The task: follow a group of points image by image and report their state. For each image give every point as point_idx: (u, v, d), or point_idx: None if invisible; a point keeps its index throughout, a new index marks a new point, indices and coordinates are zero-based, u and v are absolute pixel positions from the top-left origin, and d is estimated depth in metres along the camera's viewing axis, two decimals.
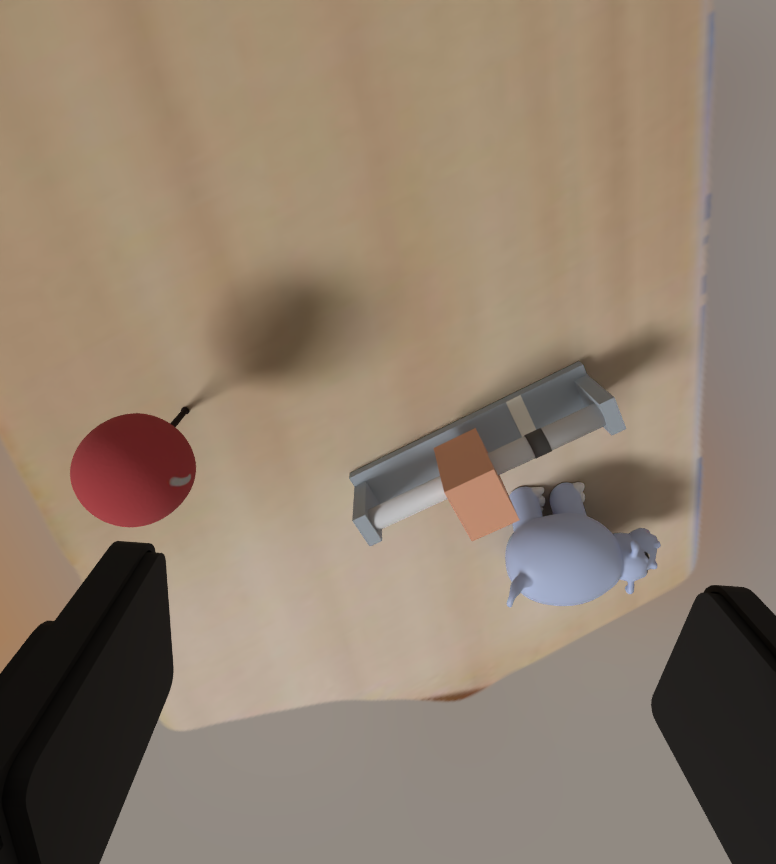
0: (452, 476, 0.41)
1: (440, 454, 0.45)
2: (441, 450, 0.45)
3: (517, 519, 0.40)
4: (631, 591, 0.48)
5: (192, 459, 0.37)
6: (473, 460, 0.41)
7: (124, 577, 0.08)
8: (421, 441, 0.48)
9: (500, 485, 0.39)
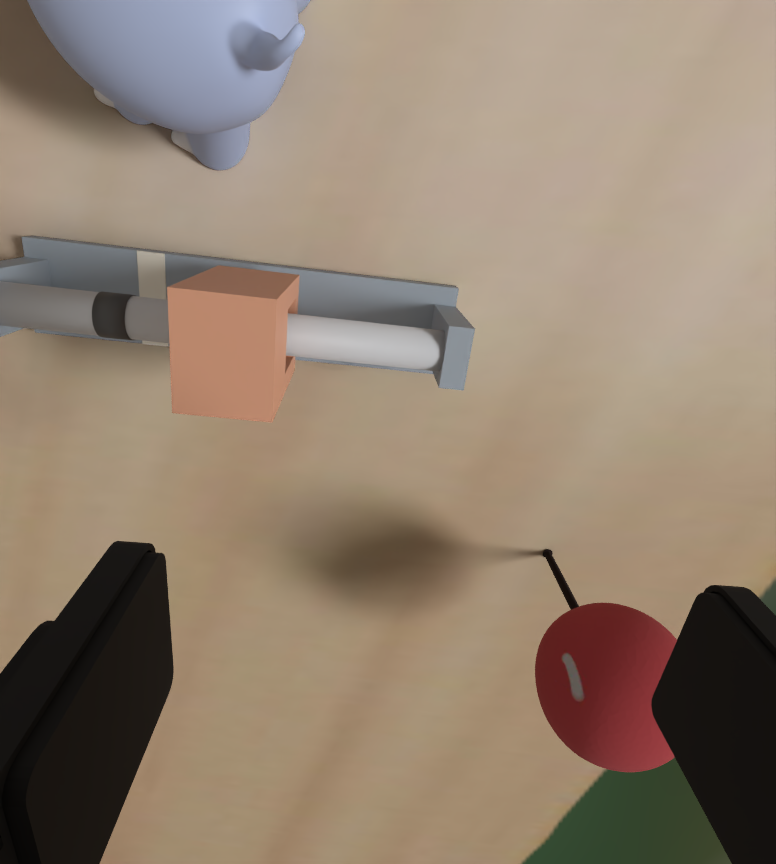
0: None
1: None
2: None
3: (170, 291, 0.20)
4: None
5: (548, 650, 0.27)
6: None
7: (124, 577, 0.08)
8: None
9: (173, 377, 0.21)
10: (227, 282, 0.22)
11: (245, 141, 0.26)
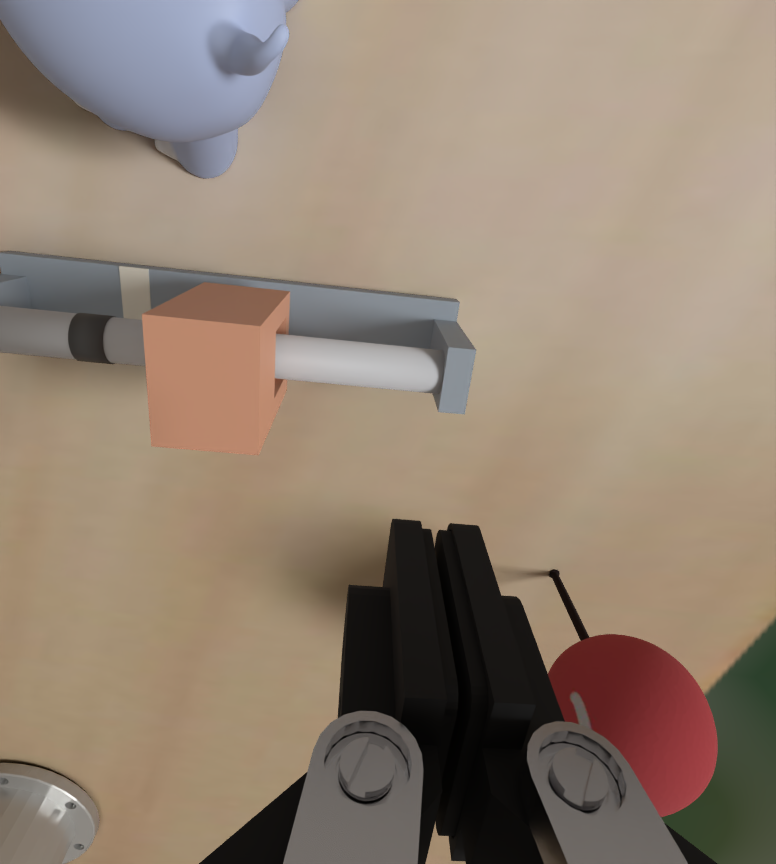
0: None
1: None
2: None
3: (145, 318, 0.18)
4: None
5: (555, 686, 0.26)
6: None
7: (421, 547, 0.09)
8: None
9: (151, 409, 0.20)
10: (209, 305, 0.21)
11: (233, 148, 0.24)
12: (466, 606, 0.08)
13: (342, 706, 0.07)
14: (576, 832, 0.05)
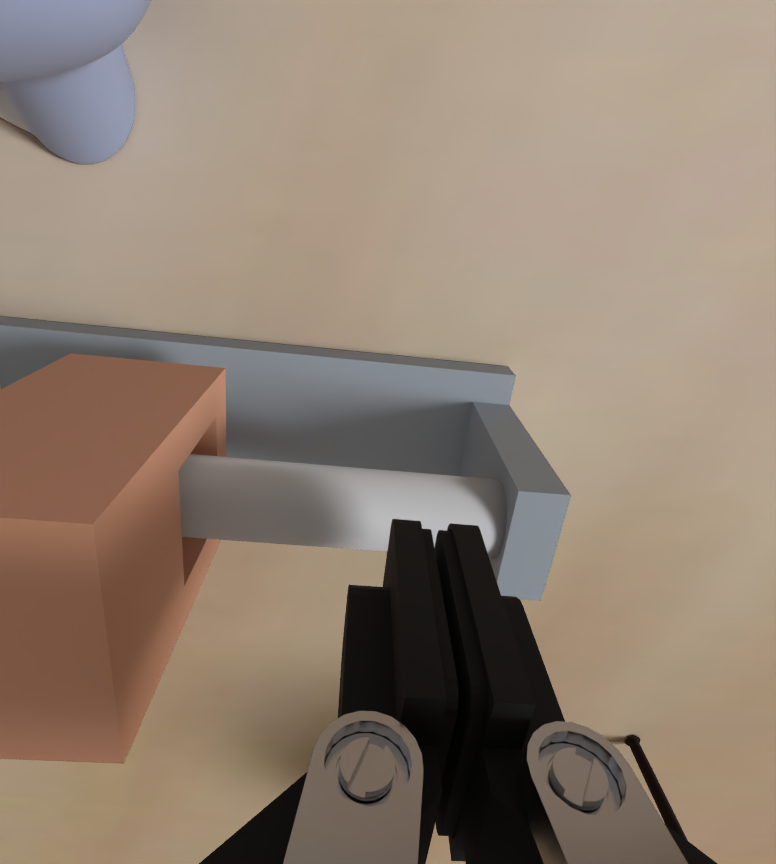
0: None
1: None
2: None
3: None
4: None
5: None
6: None
7: (421, 547, 0.09)
8: None
9: None
10: (22, 433, 0.10)
11: (121, 108, 0.13)
12: (466, 606, 0.08)
13: (342, 706, 0.07)
14: (576, 832, 0.05)
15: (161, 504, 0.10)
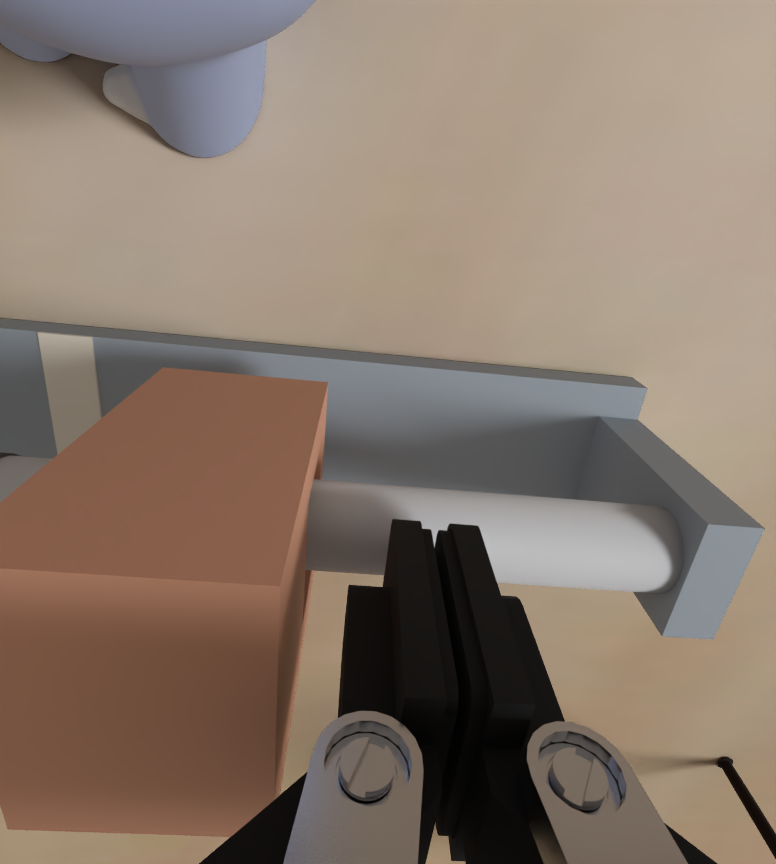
0: None
1: None
2: None
3: None
4: None
5: None
6: None
7: (421, 547, 0.09)
8: None
9: None
10: (153, 467, 0.09)
11: (255, 96, 0.12)
12: (466, 606, 0.08)
13: (342, 706, 0.07)
14: (576, 832, 0.05)
15: (301, 543, 0.09)
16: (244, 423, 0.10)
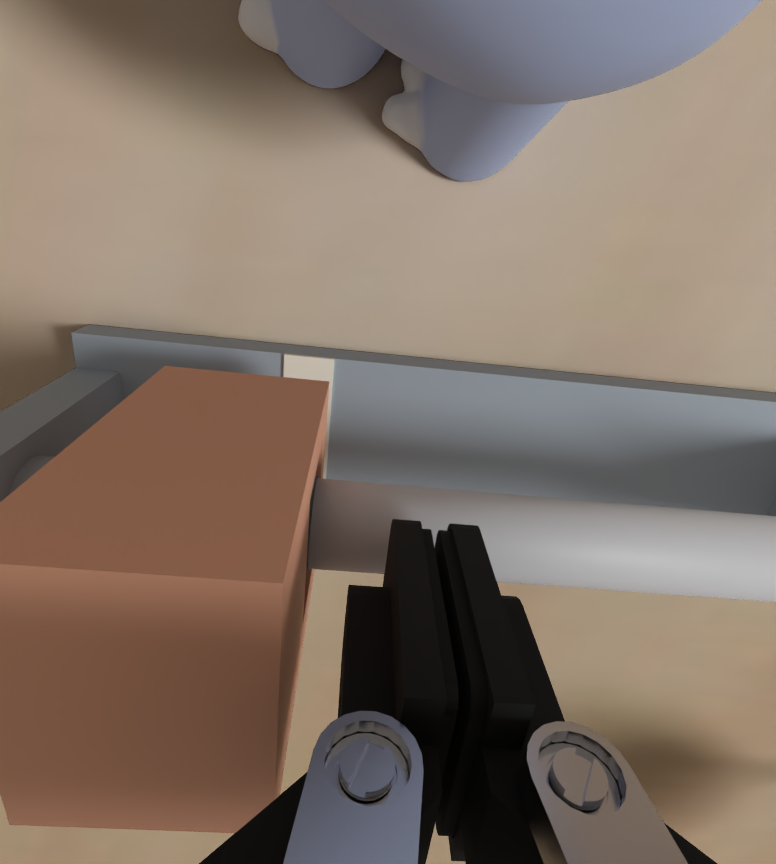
0: None
1: None
2: None
3: None
4: None
5: None
6: None
7: (421, 547, 0.09)
8: None
9: None
10: (156, 465, 0.09)
11: None
12: (466, 606, 0.08)
13: (342, 706, 0.07)
14: (576, 832, 0.05)
15: (303, 541, 0.09)
16: (246, 422, 0.10)
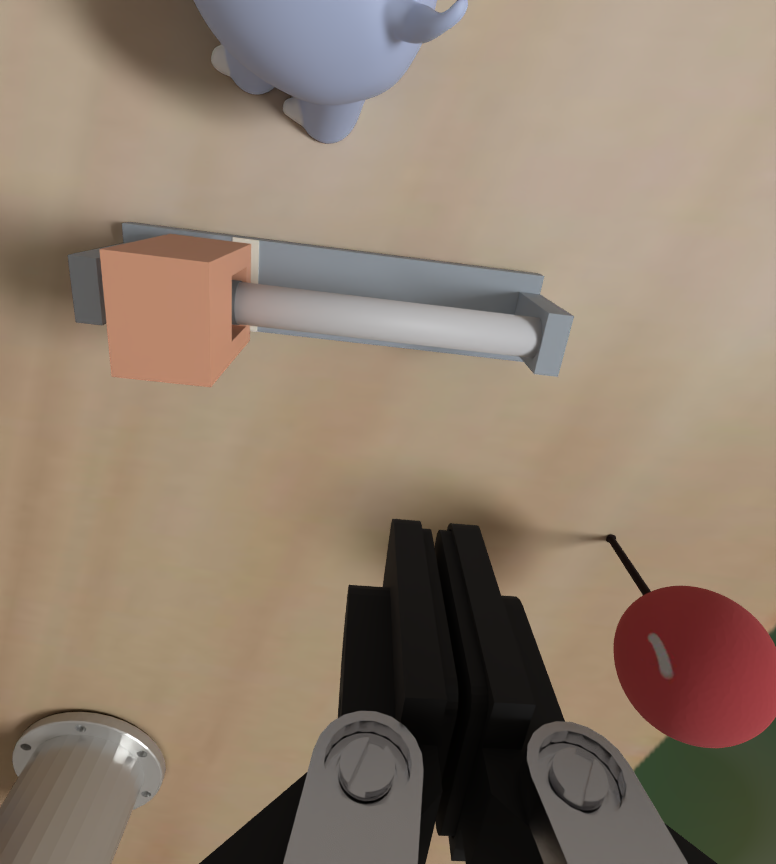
0: None
1: None
2: None
3: (103, 253, 0.20)
4: None
5: (631, 630, 0.28)
6: None
7: (421, 547, 0.09)
8: None
9: (111, 341, 0.21)
10: (167, 247, 0.22)
11: (358, 115, 0.26)
12: (466, 606, 0.08)
13: (342, 706, 0.07)
14: (576, 832, 0.05)
15: (225, 284, 0.23)
16: (206, 245, 0.24)
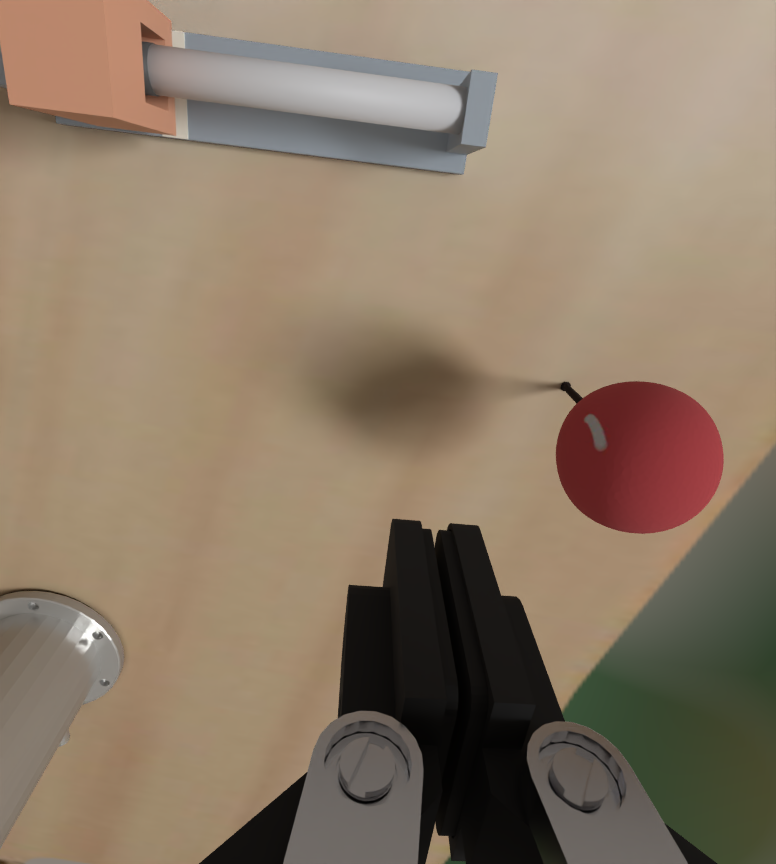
0: (107, 119, 0.23)
1: (155, 131, 0.27)
2: (158, 131, 0.27)
3: None
4: None
5: (569, 421, 0.27)
6: (71, 116, 0.23)
7: (421, 547, 0.09)
8: (334, 158, 0.31)
9: (5, 59, 0.20)
10: None
11: None
12: (466, 606, 0.08)
13: (342, 706, 0.07)
14: (576, 832, 0.05)
15: (130, 20, 0.22)
16: None
